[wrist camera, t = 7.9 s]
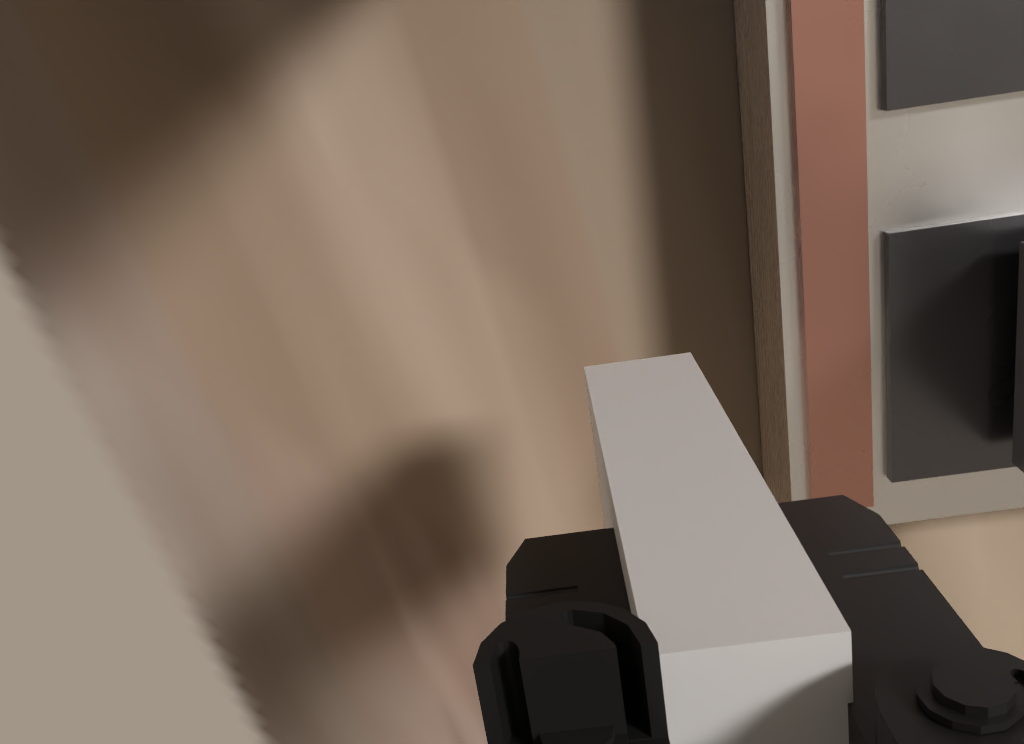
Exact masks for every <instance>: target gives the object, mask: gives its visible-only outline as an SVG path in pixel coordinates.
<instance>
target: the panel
mask: <svg viewBox="0 0 1024 744" xmlns="http://www.w3.org/2000/svg"><path fill="white" fill-rule="evenodd" d="M733 1H734V17H735V33H736V49H737V64H738V80H739V96H740V112H741V128H742V143H743V159H744V175H745V191H746V207H747V223H748V238H749V254H750V270H751V286H752V302H753V317H754V333H755V349H756V365H757V381H758V397H759V412H760V428H761V444H762V460H763V476H764V481H765V482H766V484H767V486H768V488H769V489H770V491H771V493H772V495H773V496H774V498H775V500H776V501H777V503H782V502H790V501H798V500H805V499H813V498H821V497H829V496H836V495H844V496H846V497H848V498H850V499H852V500H854V501H855V502H857V503H859V504H861V505H863V506H865V507H866V508H868V509H870V510H872V511H874V512H876V513H877V514H879V515H880V516H881V517H882V518H883V520H884V521H885V522H886V524H887V525H889V524H897V523H905V522H912V521H920V520H928V519H936V518H944V517H952V516H960V515H967V514H975V513H983V512H991V511H999V510H1007V509H1015V508H1022V507H1024V473H1023V472H1022V471H1021V470H1020V469H1019V468H1017V467H1016V466H1015V465H1014V464H1013V463H1012V446H1013V418H1014V390H1015V362H1016V333H1017V305H1018V277H1019V248H1020V242H1022V241H1024V0H733Z"/></svg>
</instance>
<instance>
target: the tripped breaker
mask: <svg viewBox="0 0 1024 744" xmlns="http://www.w3.org/2000/svg"><path fill="white" fill-rule="evenodd" d="M1012 463H1013V464H1014V465H1015V466H1016V467H1017V468H1019V469H1020V470H1021V471H1022V472H1023V473H1024V241H1022V242H1020V248H1019V277H1018V305H1017V333H1016V362H1015V390H1014V418H1013V446H1012Z"/></svg>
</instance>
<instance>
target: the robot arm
mask: <svg viewBox="0 0 1024 744" xmlns="http://www.w3.org/2000/svg"><path fill="white" fill-rule="evenodd" d="M584 370H585V378H586V385H587V393H588V401H589V409H590V416H591V424H592V432H593V440H594V447H595V455H596V463H597V471H598V478H599V486H600V494H601V502H602V509H603V517H604V525H605V529H599V530H591V531H583V532H575V533H568V534H560V535H552V536H544V537H537V538H529V539H525V540H524V542H523V543H522V544H521V546H520V547H519V549H518V550H517V551H516V553H515V554H514V556H513V557H512V559H511V560H510V561H509V563H508V564H507V566H506V598H507V600H506V621H505V622H503V623H501V624H500V625H499V626H498V627H497V628H496V629H495V630H494V631H493V632H492V633H491V634H490V635H489V636H488V637H487V638H486V639H485V640H484V641H483V642H482V643H481V644H480V647H479V650H478V653H477V655H476V658H475V661H474V664H473V669H474V674H475V679H476V684H477V690H478V695H479V700H480V705H481V710H482V716H483V721H484V726H485V731H486V736H487V742H488V744H1024V660H1021V659H1019V658H1017V657H1015V656H1013V655H1010V654H1008V653H1005V652H1001V651H996V650H992V649H987V648H983V647H982V645H981V644H980V643H979V641H978V640H977V639H976V638H975V636H974V635H973V634H972V632H971V631H970V630H969V629H968V627H967V626H966V625H965V623H964V622H963V621H962V620H961V618H960V617H959V616H958V615H957V613H956V612H955V611H954V609H953V608H952V607H951V606H950V604H949V603H948V602H947V600H946V599H945V598H944V597H943V595H942V594H941V593H940V591H939V590H938V589H937V588H936V586H935V585H934V584H933V582H932V581H931V580H930V579H929V577H928V576H927V575H926V574H925V572H924V571H923V570H919V568H918V563H917V562H916V561H915V559H914V558H913V557H912V556H911V554H910V553H909V552H908V550H907V549H906V548H905V547H901V543H900V540H899V539H898V538H897V536H896V535H895V534H894V533H893V531H892V530H891V529H890V527H889V526H888V525H887V524H886V522H885V521H884V520H883V518H882V517H881V516H880V515H879V514H877V513H876V512H874V511H872V510H870V509H868V508H866V507H865V506H863V505H861V504H859V503H857V502H855V501H854V500H852V499H850V498H848V497H846V496H844V495H836V496H829V497H821V498H813V499H805V500H798V501H790V502H782V503H777V501H776V500H775V498H774V496H773V495H772V493H771V491H770V489H769V488H768V486H767V484H766V482H765V481H764V479H763V477H762V475H761V474H760V472H759V470H758V468H757V467H756V465H755V463H754V462H753V460H752V458H751V456H750V455H749V453H748V451H747V449H746V448H745V446H744V444H743V442H742V441H741V439H740V437H739V436H738V434H737V432H736V430H735V429H734V427H733V425H732V423H731V422H730V420H729V418H728V416H727V415H726V413H725V411H724V410H723V408H722V406H721V404H720V403H719V401H718V399H717V397H716V396H715V394H714V392H713V390H712V389H711V387H710V385H709V383H708V382H707V380H706V378H705V377H704V375H703V373H702V371H701V370H700V368H699V366H698V364H697V363H696V361H695V359H694V357H693V356H692V354H691V352H689V353H682V354H674V355H667V356H660V357H653V358H645V359H638V360H631V361H624V362H616V363H609V364H602V365H595V366H587V367H584Z"/></svg>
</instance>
